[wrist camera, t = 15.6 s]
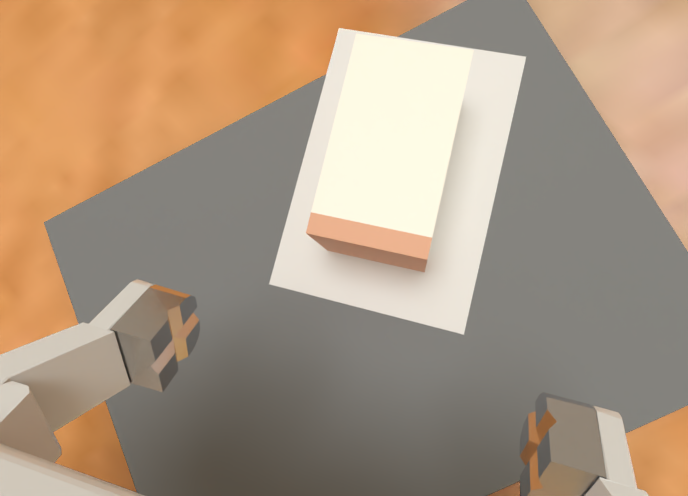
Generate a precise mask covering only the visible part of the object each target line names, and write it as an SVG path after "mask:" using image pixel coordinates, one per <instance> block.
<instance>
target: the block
mask: <svg viewBox="0 0 688 496" xmlns="http://www.w3.org/2000/svg"><path fill="white" fill-rule="evenodd" d="M473 52H474V50H471V49H464V48H457V47H449V46H442V45H435V44H428V43H421V42H413V41H406V40H399V39H392V38H385V37H378V36H370V35H363V34H356V36H355V40H354V44H353V48H352V52H351V56H350V60H349V64H348V68H347V72H346V76H345V80H344V84H343V87H342V91H341V95H340V99H339V103H338V107H337V111H336V115H335V119H334V123H333V127H332V131H331V135H330V139H329V143H328V147H327V151H326V155H325V159H324V163H323V167H322V171H321V175H320V179H319V183H318V186H317V190H316V194H315V198H314V202H313V206H312V210H311V214H310V218H309V222H308V226H307V230H306V234H307V235H309V236H310V237H311V238H312V239H314V240H315V241H316V242H317V243H319V244H320V245H321V246H322V247H324V248H325V249H326V250H327V251H331V252H336V253H340V254H345V255H349V256H354V257H358V258H363V259H367V260H371V261H376V262H380V263H385V264H389V265H394V266H398V267H403V268H407V269H412V270H416V271H421V272H425V268H426V264H427V259H428V255H429V250H430V246H431V241H432V237H433V232H434V228H435V223H436V219H437V214H438V210H439V205H440V201H441V196H442V192H443V187H444V183H445V178H446V174H447V169H448V165H449V160H450V155H451V151H452V146H453V142H454V137H455V133H456V128H457V124H458V119H459V115H460V110H461V106H462V101H463V97H464V92H465V88H466V83H467V79H468V74H469V70H470V65H471V61H472V56H473Z"/></svg>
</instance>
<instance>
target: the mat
mask: <svg viewBox="0 0 688 496" xmlns="http://www.w3.org/2000/svg"><path fill="white" fill-rule="evenodd" d="M356 34H363V35H370V36H378V37H385V38H392V39H399V40H406V41H413V42H421V43H428V44H435V45H442V46H449V47H457V48H464V49H471V50H474V52H473V56H472V61H471V65H470V70H469V74H468V79H467V83H466V88H465V92H464V97H463V101H462V106H461V110H460V115H459V119H458V124H457V128H456V133H455V137H454V142H453V146H452V151H451V155H450V160H449V165H448V169H447V174H446V178H445V183H444V187H443V192H442V196H441V201H440V205H439V210H438V214H437V219H436V223H435V228H434V232H433V237H432V241H431V246H430V250H429V255H428V259H427V264H426V268H425V272H421V271H416V270H412V269H407V268H403V267H398V266H394V265H389V264H385V263H380V262H376V261H371V260H367V259H363V258H358V257H354V256H349V255H345V254H340V253H336V252H331V251H327V250H326V249H325V248H324V247H322V246H321V245H320V244H319V243H317V242H316V241H315V240H314V239H312V238H311V237H310V236H309V235H307V234H306V230H307V226H308V222H309V218H310V214H311V210H312V206H313V202H314V198H315V194H316V190H317V186H318V183H319V179H320V175H321V171H322V167H323V163H324V159H325V155H326V151H327V147H328V143H329V139H330V135H331V131H332V127H333V123H334V119H335V115H336V111H337V107H338V103H339V99H340V95H341V91H342V87H343V84H344V80H345V76H346V72H347V68H348V64H349V60H350V56H351V52H352V48H353V44H354V40H355V36H356ZM44 224H45V227H46V230H47V233H48V236H49V239H50V242H51V245H52V247H53V250H54V253H55V256H56V259H57V262H58V265H59V268H60V271H61V274H62V276H63V279H64V282H65V285H66V288H67V291H68V294H69V297H70V300H71V303H72V305H73V308H74V311H75V314H76V317H77V320H78V323H79V324H80V323H83V322H84V323H88V324H89V323H90V322H91V321H92V320H93V319H94V318H95V317H96V316H97V315H98V314H99V313H100V312H101V311H102V310H103V309H104V308H105V307H106V306H107V305H108V304H109V303H110V302H111V301H112V300H113V299H114V298H115V297H116V296H117V295H118V294H119V293H120V292H121V291H122V290H123V289H124V288H125V287H126V286H127V285H128V284H129V283H130V282H132V281H135V280H137V279H138V280H142V281H145V282H148V283H152V284H156V285H159V286H162V287H166V288H169V289H172V290H175V291H179V292H182V293H185V294H188V295H192V296H194V297H195V298H196V303H197V308H196V309H195V311H194V312H193V313H194V314H195V315H196V317H197V318H198V319H199V322H200V333H199V337H198V340H197V343H196V345H195V347H194V349H193V350H192V352H191V353H190V355H189V356H188V357H186V358H184V359H182V360H180V361H178V372H177V373H176V375H175V376H174V377H173V379H172V380H171V382H170V383H169V384H168V386H167V387H166V389H165V390H164V391H163V392H160V391H156V390H153V389H149V388H146V387H142V386H139V385H135V384H132V383H130V384H131V385H130V386H128V387H127V388H125V389H123V390H122V391H120V392H118V393H117V394H115V395H113V396H112V397H110V398H109V399H107V400H105V401H106V404H107V407H108V410H109V413H110V416H111V418H112V421H113V424H114V427H115V430H116V433H117V436H118V439H119V442H120V444H121V447H122V450H123V453H124V456H125V459H126V462H127V465H128V468H129V471H130V473H131V476H132V479H133V482H134V485H135V488H136V491H137V493H139V494H142V495H145V496H487V495H490V494H492V493H494V492H496V491H499V490H501V489H503V488H505V487H507V486H510V485H512V484H514V483H516V482H519V481H520V475H521V473H522V471H523V470H524V468H525V466H526V465H525V464H524V462H523V461H522V459H521V458H520V436H521V432H522V428H523V424H524V422H525V420H526V418H527V416H528V414H530V413H532V412H535V401H536V400H537V398H538V396H539V395H540V394H541V393H542V392H545V393H549V394H553V395H557V396H560V397H564V398H568V399H572V400H575V401H579V402H583V403H587V404H590V405H591V406H597V407H600V408H604V409H608V410H611V411H615V412H618V413H619V414H620V415H621V417H622V420H623V425H624V429H625V433H627V432H630V431H632V430H634V429H636V428H638V427H641V426H643V425H645V424H647V423H650V422H652V421H654V420H656V419H658V418H661V417H663V416H665V415H667V414H670V413H672V412H674V411H676V410H678V409H681V408H683V407H685V406H687V405H688V252H687V250H686V248H685V247H684V245H683V244H682V242H681V241H680V239H679V238H678V236H677V234H676V233H675V231H674V230H673V228H672V227H671V225H670V223H669V222H668V220H667V219H666V217H665V216H664V214H663V213H662V211H661V209H660V208H659V206H658V205H657V203H656V202H655V200H654V198H653V197H652V195H651V194H650V192H649V191H648V189H647V188H646V186H645V184H644V183H643V181H642V180H641V178H640V177H639V175H638V174H637V172H636V170H635V169H634V167H633V166H632V164H631V163H630V161H629V159H628V158H627V156H626V155H625V153H624V152H623V150H622V149H621V147H620V145H619V144H618V142H617V141H616V139H615V138H614V136H613V135H612V133H611V131H610V130H609V128H608V127H607V125H606V124H605V122H604V120H603V119H602V117H601V116H600V114H599V113H598V111H597V110H596V108H595V106H594V105H593V103H592V102H591V100H590V99H589V97H588V96H587V94H586V92H585V91H584V89H583V88H582V86H581V85H580V83H579V81H578V80H577V78H576V77H575V75H574V74H573V72H572V71H571V69H570V67H569V66H568V64H567V63H566V61H565V60H564V58H563V57H562V55H561V53H560V52H559V50H558V49H557V47H556V46H555V44H554V42H553V41H552V39H551V38H550V36H549V35H548V33H547V32H546V30H545V28H544V27H543V25H542V24H541V22H540V21H539V19H538V18H537V16H536V14H535V13H534V11H533V10H532V8H531V7H530V5H529V3H528V2H527V0H467V1H465V2H463V3H461V4H459V5H457V6H455V7H453V8H452V9H450V10H448V11H446V12H444V13H442V14H440V15H438V16H436V17H434V18H432V19H431V20H429V21H427V22H425V23H423V24H421V25H419V26H417V27H415V28H413V29H412V30H410V31H408V32H406V33H404V34H402V35H400V36H398V37H394V36H387V35H381V34H374V33H368V32H361V31H355V30H348V29H342V28H339V30H338V34H337V38H336V41H335V45H334V49H333V52H332V56H331V60H330V63H329V67H328V70H327V74H326V75H324V76H322V77H320V78H318V79H316V80H314V81H312V82H311V83H309V84H307V85H305V86H303V87H301V88H299V89H297V90H295V91H293V92H291V93H290V94H288V95H286V96H284V97H282V98H280V99H278V100H276V101H274V102H272V103H271V104H269V105H267V106H265V107H263V108H261V109H259V110H257V111H255V112H253V113H251V114H250V115H248V116H246V117H244V118H242V119H240V120H238V121H236V122H234V123H232V124H231V125H229V126H227V127H225V128H223V129H221V130H219V131H217V132H215V133H213V134H211V135H210V136H208V137H206V138H204V139H202V140H200V141H198V142H196V143H194V144H192V145H191V146H189V147H187V148H185V149H183V150H181V151H179V152H177V153H175V154H173V155H171V156H170V157H168V158H166V159H164V160H162V161H160V162H158V163H156V164H154V165H152V166H150V167H149V168H147V169H145V170H143V171H141V172H139V173H137V174H135V175H133V176H131V177H130V178H128V179H126V180H124V181H122V182H120V183H118V184H116V185H114V186H112V187H110V188H109V189H107V190H105V191H103V192H101V193H99V194H97V195H95V196H93V197H91V198H90V199H88V200H86V201H84V202H82V203H80V204H78V205H76V206H74V207H72V208H70V209H69V210H67V211H65V212H63V213H61V214H59V215H57V216H55V217H53V218H51V219H50V220H48V221H46V222H44Z"/></svg>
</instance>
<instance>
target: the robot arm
mask: <svg viewBox="0 0 688 496" xmlns="http://www.w3.org/2000/svg"><path fill="white" fill-rule="evenodd" d="M196 308H197V303H196V298H195V297H194V296H192V295H188V294H185V293H182V292H179V291H175V290H172V289H169V288H166V287H162V286H159V285H156V284H152V283H148V282H145V281H142V280H138V279H137V280H135V281H132V282H130V283H129V284H128V285H127V286H126V287H125V288H124V289H123V290H122V291H121V292H120V293H119V294H118V295H117V296H116V297H115V298H114V299H113V300H112V301H111V302H110V303H109V304H108V305H107V306H106V307H105V308H104V309H103V310H102V311H101V312H100V313H99V314H98V315H97V316H96V317H95V318H94V319H93V320H92V321H91V322H90V323H89V324H88V323H84V322H83V323H80V324H78V325H75V326H73V327H70V328H67V329H65V330H62V331H60V332H57V333H55V334H52V335H50V336H47V337H44V338H42V339H39V340H37V341H34V342H32V343H29V344H27V345H24V346H21V347H19V348H16V349H14V350H11V351H9V352H6V353H4V354H1V355H0V496H145V495H142V494H139V493H137V492H134V491H131V490H128V489H126V488H123V487H120V486H117V485H115V484H112V483H109V482H106V481H103V480H101V479H98V478H95V477H92V476H90V475H87V474H84V473H81V472H79V471H76V470H73V469H70V468H67V467H65V466H62V465H59V464H56V463H55V462H56V460H57V459H58V458H59V457H60V455H61V447H60V445H59V443H58V441H57V439H56V437H55V435H54V433H53V432H54V431H56V430H58V429H59V428H61V427H62V426H64V425H66V424H67V423H69V422H71V421H72V420H74V419H76V418H77V417H79V416H81V415H82V414H84V413H86V412H87V411H89V410H90V409H92V408H94V407H95V406H97V405H99V404H100V403H102V402H104V401H105V400H107V399H109V398H110V397H112V396H113V395H115V394H117V393H118V392H120V391H122V390H123V389H125V388H127V387H128V386H130V385H131V384H130V383H132V384H135V385H139V386H142V387H146V388H149V389H153V390H156V391H160V392H163V391H164V390H165V389H166V387H167V386H168V384H169V383H170V382H171V380H172V379H173V377H174V376H175V375H176V373H177V372H178V361H180V360H182V359H184V358H186V357H188V356H189V355H190V353H191V352H192V350H193V349H194V347H195V345H196V343H197V340H198V337H199V333H200V322H199V319H198V318H197V317H196V315H195V314H194V313H193V312H194V311H195V309H196ZM520 458H521V459H522V461H523V462H524V464H525V465H526V466H525V468H524V470H523V471H522V473H521V475H520V496H649V495H648V494H647V492H646V491H644V490H641V489H638V488H637V484H636V479H635V475H634V470H633V466H632V461H631V456H630V452H629V447H628V443H627V438H626V434H625V429H624V425H623V420H622V417H621V415H620V414H619V413H618V412H615V411H611V410H608V409H604V408H600V407H597V406H591V405H590V404H587V403H583V402H579V401H575V400H572V399H568V398H564V397H560V396H557V395H553V394H549V393H545V392H542V393H541V394H540V395H539V396H538V398H537V400H536V401H535V412H532V413H530V414H528V416H527V418H526V420H525V422H524V424H523V428H522V432H521V436H520Z"/></svg>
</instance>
